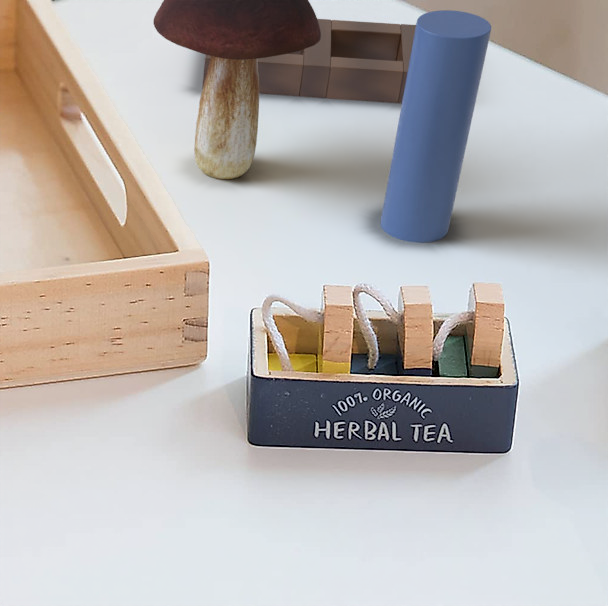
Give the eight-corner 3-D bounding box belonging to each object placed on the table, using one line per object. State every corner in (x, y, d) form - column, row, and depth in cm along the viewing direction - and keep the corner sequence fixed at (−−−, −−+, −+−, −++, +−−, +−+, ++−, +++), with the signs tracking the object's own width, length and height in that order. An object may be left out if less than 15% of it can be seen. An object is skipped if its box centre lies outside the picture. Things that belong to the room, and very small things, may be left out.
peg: (444, 220, 103) (488, 12, 93) (448, 252, 99) (494, 40, 90) (378, 215, 103) (415, 7, 94) (379, 247, 100) (418, 35, 91)
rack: (419, 62, 122) (426, 25, 120) (423, 112, 115) (431, 73, 113) (209, 48, 124) (213, 11, 122) (201, 96, 117) (204, 58, 115)
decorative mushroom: (259, 134, 112) (283, -78, 102) (328, 201, 105) (362, -21, 95) (120, 155, 110) (132, -60, 100) (181, 225, 102) (199, 0, 92)
